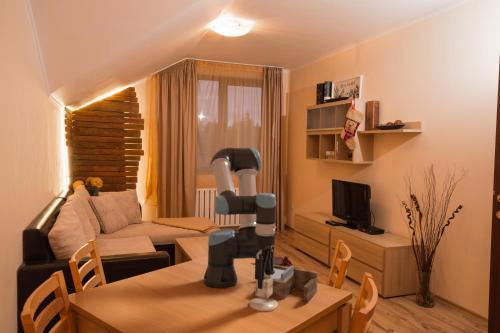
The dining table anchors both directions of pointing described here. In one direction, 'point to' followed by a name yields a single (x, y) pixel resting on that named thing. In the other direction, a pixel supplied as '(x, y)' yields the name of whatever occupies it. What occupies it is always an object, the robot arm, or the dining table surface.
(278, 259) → the toy fire truck
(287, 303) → the dining table surface
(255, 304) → the dish
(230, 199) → the robot arm
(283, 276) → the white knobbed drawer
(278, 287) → the wooden frame
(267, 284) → the block
